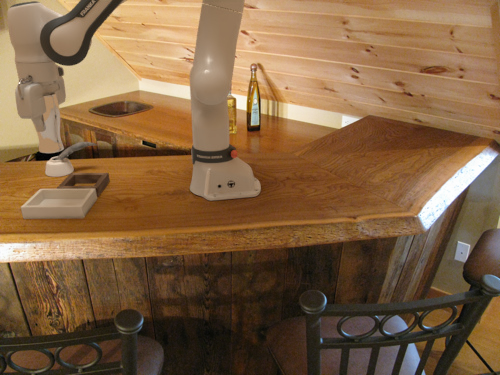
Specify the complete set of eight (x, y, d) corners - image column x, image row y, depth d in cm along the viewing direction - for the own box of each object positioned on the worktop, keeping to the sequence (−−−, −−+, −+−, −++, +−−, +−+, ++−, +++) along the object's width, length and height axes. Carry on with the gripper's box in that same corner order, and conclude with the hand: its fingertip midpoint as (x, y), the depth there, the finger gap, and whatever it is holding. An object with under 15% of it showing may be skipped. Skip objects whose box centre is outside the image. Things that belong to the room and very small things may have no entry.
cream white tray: (97, 199, 120) (95, 188, 119) (83, 218, 109) (81, 206, 108) (42, 199, 120) (40, 188, 118) (23, 218, 109) (20, 207, 107)
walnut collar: (109, 181, 133) (108, 172, 131) (98, 196, 122) (97, 187, 121) (72, 181, 132) (71, 172, 131) (58, 197, 121) (56, 188, 120)
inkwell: (45, 169, 142) (39, 142, 138) (99, 162, 149) (95, 136, 144) (45, 178, 134) (39, 150, 130) (102, 171, 141) (98, 143, 137)
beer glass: (57, 144, 113) (48, 90, 107) (70, 149, 109) (62, 93, 103) (32, 149, 108) (21, 93, 102) (45, 155, 104) (34, 97, 98)
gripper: (31, 80, 91) (42, 139, 97) (66, 67, 110) (74, 117, 115) (2, 79, 91) (16, 138, 97) (42, 67, 110) (51, 117, 115)
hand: (48, 127), depth 106 cm, fingers closed on beer glass, 6 cm apart
